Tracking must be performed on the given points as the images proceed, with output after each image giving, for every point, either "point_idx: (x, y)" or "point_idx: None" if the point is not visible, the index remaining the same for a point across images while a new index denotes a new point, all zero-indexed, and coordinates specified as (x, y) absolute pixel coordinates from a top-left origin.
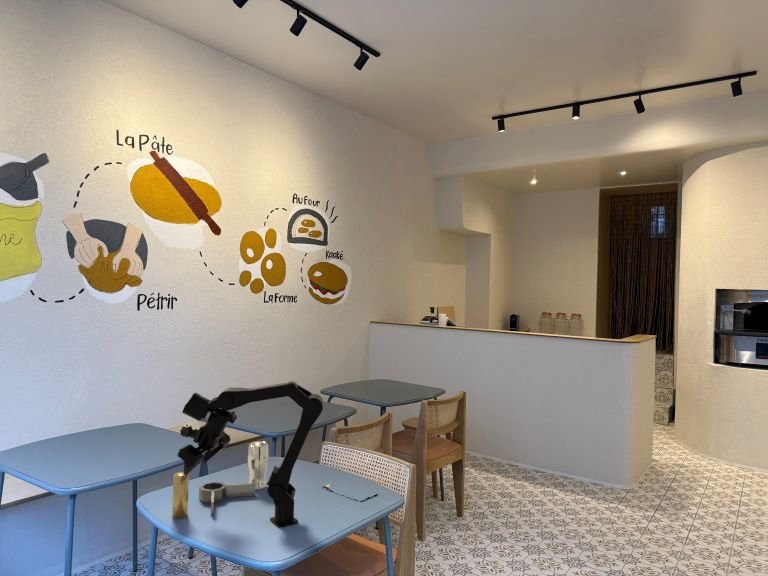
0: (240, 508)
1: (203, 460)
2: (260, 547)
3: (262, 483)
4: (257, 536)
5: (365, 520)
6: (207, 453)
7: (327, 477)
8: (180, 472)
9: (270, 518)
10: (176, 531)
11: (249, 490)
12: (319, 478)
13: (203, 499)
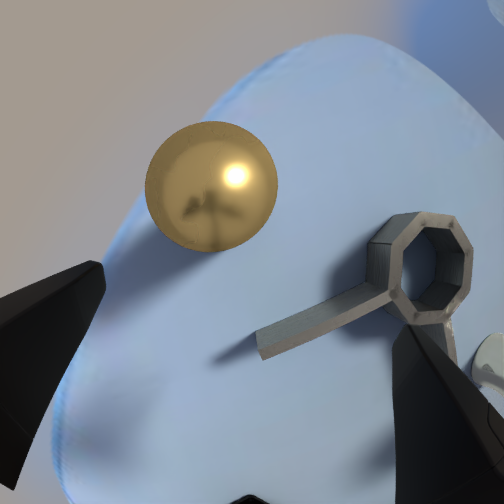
0: (331, 402)
1: (406, 342)
2: (104, 491)
3: (485, 386)
4: (148, 485)
5: None
6: (435, 426)
7: None
8: (263, 151)
9: (250, 498)
10: None
11: None
12: None
13: (373, 248)
